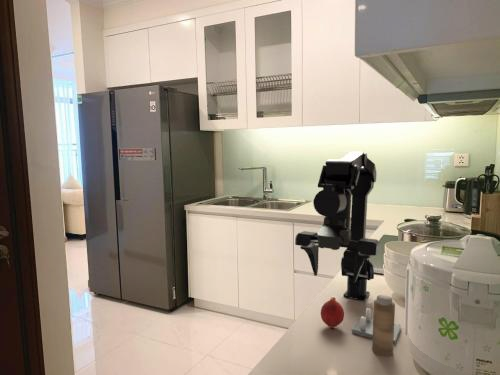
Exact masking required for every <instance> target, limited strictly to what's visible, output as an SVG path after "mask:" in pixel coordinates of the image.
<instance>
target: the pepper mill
mask: <svg viewBox="0 0 500 375" xmlns="http://www.w3.org/2000/svg"><path fill="white" fill-rule="evenodd" d="M372 312H373V315H372V316H373V317H372V319H373V337H372V338H371V340H372V342H371V350H372V352H373V353H374V354H376V355H377V356H381V357H390V356H392V355H394V354H393V353H394V344H393V339H394V324H395V314H396V304H395V302H394V301H393V297H392V296H390V295H387V294H379V295H377V296H376V299H375V300H373V311H372Z"/></svg>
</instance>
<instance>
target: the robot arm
mask: <svg viewBox="0 0 500 375" xmlns="http://www.w3.org/2000/svg"><path fill="white" fill-rule="evenodd" d="M376 181H377V169H376V164H375V163H374V162H373V161H372V160H371V159H370V158H368V153H366V152H364V151H350V152H347V154H346V155H345V156H344V157H342V158H340V159H326V161H325V163H324V164H322V169H321V173H320V175H319V180H318V183H317V188H318V189H319V188H322V190H319V191H318V192H317V193H316V194H315V196H314V198H313V208H314V210H315V211H316V212H317V214H318V215H321V216H322V217H323V224H322V226H321V227H320V229H319V230H318V232H316V231H315V232H314V231H306V230H305V231H301V232H298V233H297V234H296V235H295V242H294V245H295V246H300V247H299V248H300V250H303V251H304V252H305V253H306V254H307V257H308V258H309V262H310V265H311V268H312V272H313V276H315V277H316V276H317V275H318V273H319V272H318V271H319V249H331V250H332V251H338V250H340V248H346V249H345V250H344V251H343V254H342V257H341V261H340V269H341V272H340V273H341V276H342V277H347V278H346V279H347V281H346V282H347V284H346V285H347V287H346V290H345V292H344V293H343V294H342V295H343V297H346V298H350V299H354V300H360V301H366V299H367V298H368V297H369V295H370V291H367V287H368V286H367V282H368V281H371V280H374V279H375V268H374V265H373V262H372V260H371V258H372V257H373V256H377V255H378V254H379V253H380V248H381V247H380V246H381V244H380V241H379V240H378V239H376V238H366V233H367V231H366V230H367V215H368V214H367V212H368V211H367V210H368V196H369V195H370V193H371V192H372V190H373V189H374V186H375V185H374V184H375V183H376Z"/></svg>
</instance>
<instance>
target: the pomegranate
mask: <svg viewBox="0 0 500 375" xmlns="http://www.w3.org/2000/svg"><path fill="white" fill-rule="evenodd" d="M320 317H321V320H322V322H323V323H324V324H325V325H326V326H327V327H329V328H331V329H333V328H336V327H338V326H339V325H341V324H342V322H344V319H345V311H344V308H343V306H342V305H341V303H339V301H337V300H336V297H335V296H331V298H330V299H329V300H328V301H326V302H324V303H323V305H322V306H321V309H320Z"/></svg>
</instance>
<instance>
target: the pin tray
mask: <svg viewBox="0 0 500 375" xmlns="http://www.w3.org/2000/svg"><path fill="white" fill-rule="evenodd" d="M371 316H372V308H370V307H366V308H365V316H362V315H360V316H359V318H358V319H357V320H356V322H355V324H354V325H353V327H352V328H351V333H352V334H355V335H358V336H361V337H365V338H370V339H372V337H373V318H371ZM401 328H402V326H401V325H400V324H395V323H394V339H393V346H394V345H396V344H397V343H396V342H397V341H398V337H399V335H400V332H401Z"/></svg>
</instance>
